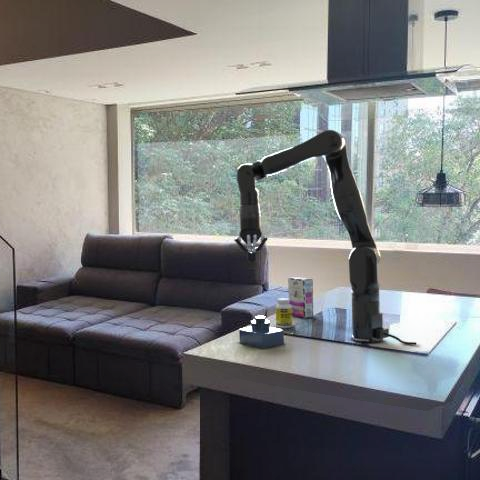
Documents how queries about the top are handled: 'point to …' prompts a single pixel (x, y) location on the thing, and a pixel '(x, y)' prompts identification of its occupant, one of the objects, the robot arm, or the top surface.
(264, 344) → the blue square base
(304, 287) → the candy bar box
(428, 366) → the top surface
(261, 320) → the button
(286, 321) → the pill bottle
